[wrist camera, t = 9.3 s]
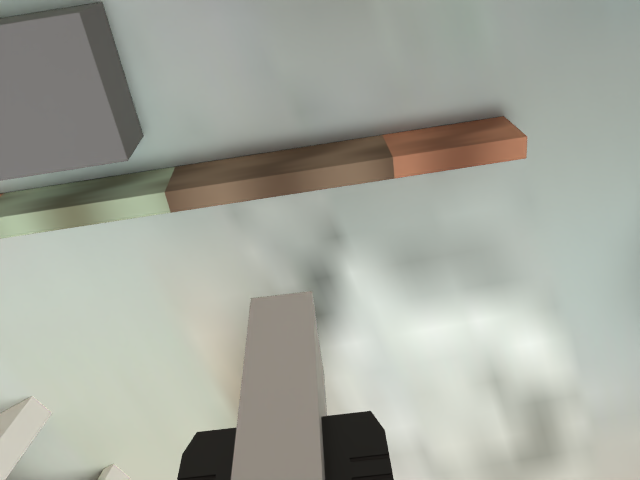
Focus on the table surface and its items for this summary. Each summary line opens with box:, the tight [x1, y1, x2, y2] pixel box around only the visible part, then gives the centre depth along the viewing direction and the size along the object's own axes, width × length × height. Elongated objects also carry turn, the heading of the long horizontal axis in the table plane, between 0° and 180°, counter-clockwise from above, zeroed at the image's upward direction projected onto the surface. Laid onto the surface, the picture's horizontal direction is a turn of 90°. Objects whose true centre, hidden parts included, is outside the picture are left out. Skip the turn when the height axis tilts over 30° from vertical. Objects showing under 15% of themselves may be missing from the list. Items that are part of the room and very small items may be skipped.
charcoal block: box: [0, 2, 143, 181], centre depth 28 cm, size 7×7×4 cm
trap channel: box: [0, 116, 527, 239], centre depth 27 cm, size 39×14×5 cm, turn 98°
